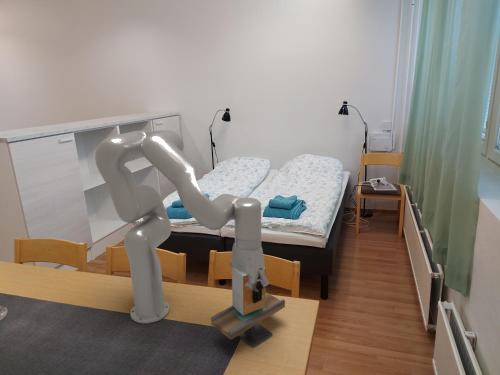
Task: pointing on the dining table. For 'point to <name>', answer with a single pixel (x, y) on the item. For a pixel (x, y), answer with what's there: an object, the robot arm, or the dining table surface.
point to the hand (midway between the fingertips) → (248, 295)
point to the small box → (244, 293)
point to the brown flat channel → (245, 317)
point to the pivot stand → (255, 335)
